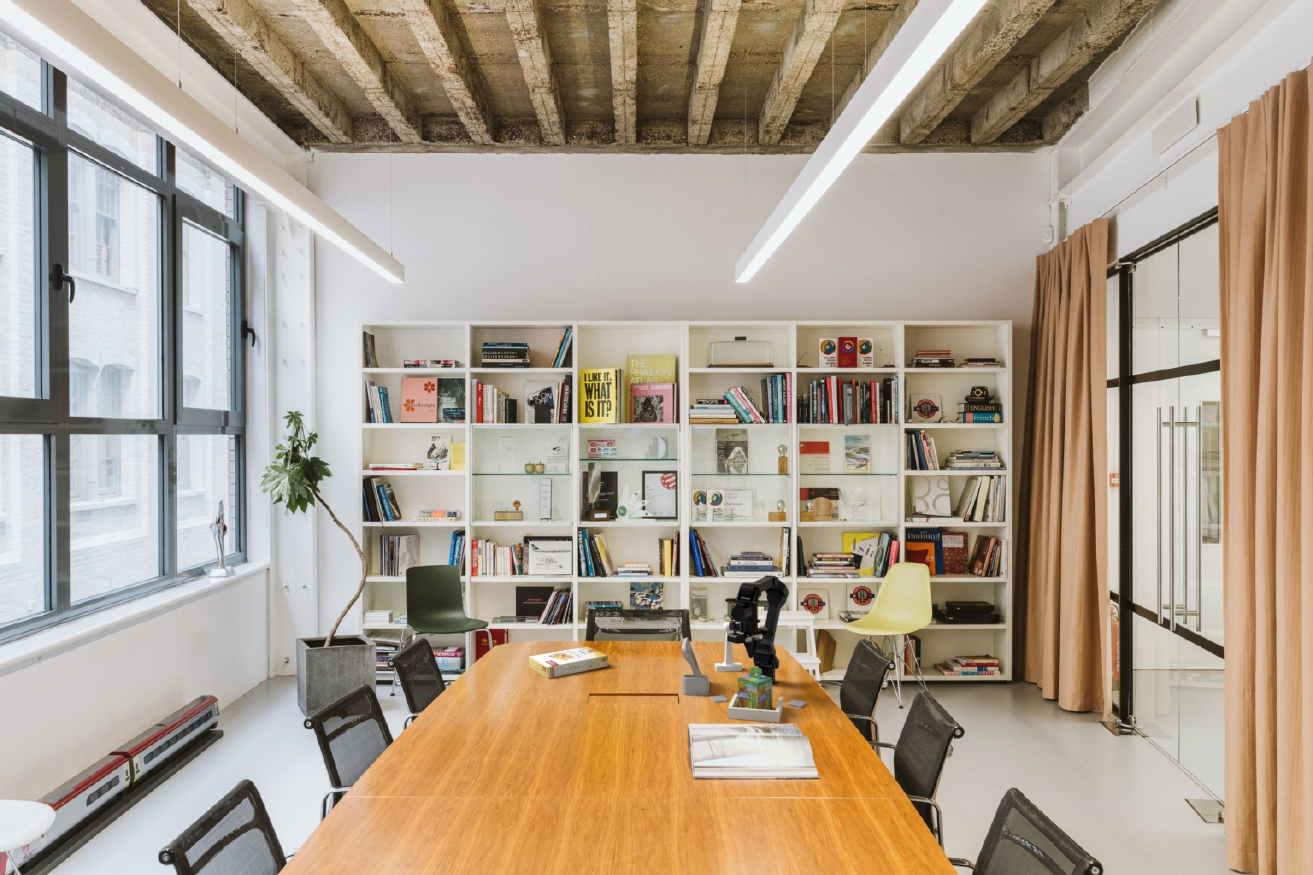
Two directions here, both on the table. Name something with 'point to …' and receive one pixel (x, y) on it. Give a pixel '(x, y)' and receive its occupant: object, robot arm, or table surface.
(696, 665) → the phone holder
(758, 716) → the corral
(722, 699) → the tile
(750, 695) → the chalk box
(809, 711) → the table surface
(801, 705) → the tile
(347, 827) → the table surface
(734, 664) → the joystick
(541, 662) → the cereal box
